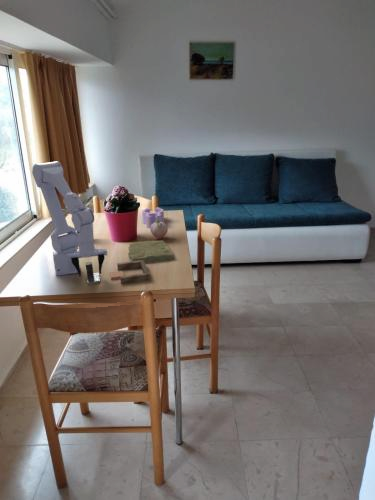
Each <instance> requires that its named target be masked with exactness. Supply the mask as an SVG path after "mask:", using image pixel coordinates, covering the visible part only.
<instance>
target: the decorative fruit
mask: <svg viewBox="0 0 375 500" xmlns="http://www.w3.org/2000/svg"><path fill="white" fill-rule="evenodd" d="M149 229H150V233H151V234H152V235H153V237H155V238H156V239H157V240H162V238H164V237H165V236H166V235H167V234H168V226H167V224H166V223H165V222H160V221H159V220H158V221H155V222H154V223H153V224H152V225H151V227H150V228H149Z"/></svg>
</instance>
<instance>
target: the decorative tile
mask: <svg viewBox="0 0 375 500" xmlns="http://www.w3.org/2000/svg"><path fill="white" fill-rule="evenodd" d="M127 254H128V258H129V260H130V262H132V261H140V260H144V262H145V264H148V263H147V262H150V263H155V261H158V262H165V261H164V260H166V261H172V260H173V259H174V258H173V257H174V255H173V253H172V251H171V249H170V248H169V246H168V245H167V244H166V242H165V241H164V240H162V239H160V240H148V241H139V242H137V241H136V242H133V243H130V244H129V246H128V253H127Z"/></svg>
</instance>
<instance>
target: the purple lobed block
mask: <svg viewBox="0 0 375 500" xmlns="http://www.w3.org/2000/svg"><path fill="white" fill-rule="evenodd" d="M141 214H142V215H141V216H142V224H144V225H146V228H147V229H150V227H151V225H152V224H153V223H154V222H155V221H158V220H159V221H160V222H163V223H165V212H164V209H163V208H161V207H158V206H157V207H155V210H154V212H151V208H149V207H146V208H145V209H142V211H141Z"/></svg>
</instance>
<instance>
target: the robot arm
mask: <svg viewBox="0 0 375 500" xmlns="http://www.w3.org/2000/svg"><path fill="white" fill-rule="evenodd" d="M31 172H32V177H33V179H34V183H35V184H36V187H37V188H39V189H40V190H41V193H42V195H43V198H44V202H45V204H46V207H47V210H48V213H49V215H50V218H51V221H52V224H53V227H54V230H53V231H52V233H51V234H50V240H51V246H52V249H53V250H54V252H52V254H53V255H52V256H53V265H54V270H55V276H63V275H71V274H78V277H82V271H81V264H80V259H82V258H83V259H84V258H86V259H87V258H91V257H97V261H98V262H97V263H98V272H99V275H101V274H102V268H103V263H104V261H105V256H108V249H107V248H105V249H104V248H103V249H102V248H101V249H96V248H95V237H94V238H93V235H94V229H93V230H92V223H93V224H94V222H95V215H94V212H93V210H92V209H91V208H90V207H88V206H86V205H84V203H83V202H82V200H81V198H80V197H79V195H78V194H77V193H75V192H72V190H71V188H70V186H69V184H68V183H67V181H66V179H65V177H64V174H65V173H64V168H63V166H62V164H61V163H60V162H59V161H57V160H55V161H51V162H50V161H49V162H44V163H43V162H42V163H34V164H33V166H32V171H31ZM57 191H58V192H59V194H60V195H61V196H62V197H63V198H62V199H63V200H62V203H63V204H64V206H65V208H66V209H67V210H68V212H69V213H70V215H71V223H72V224H73V227H72V226H71V225H68V222H67V219H66V216H65V213H64V210H63V208H62V205H61V202H60V198H59V196H58V194H57Z"/></svg>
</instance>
